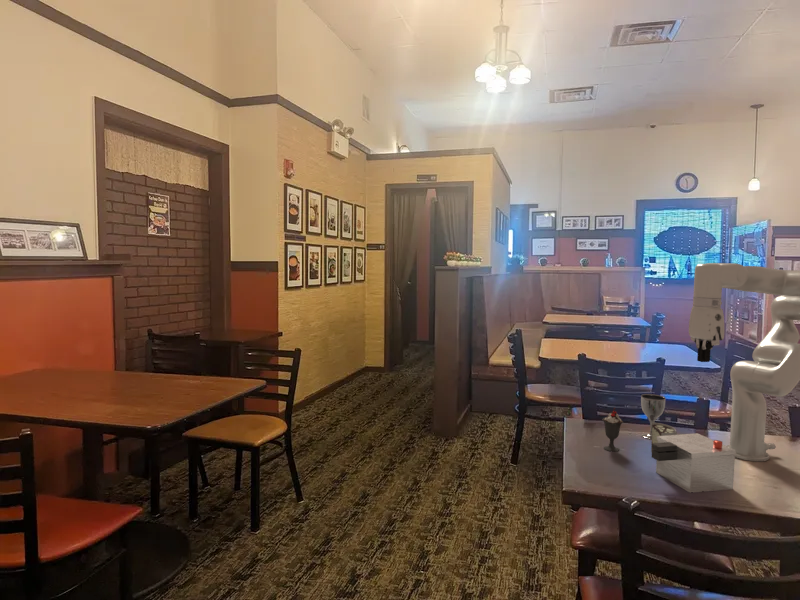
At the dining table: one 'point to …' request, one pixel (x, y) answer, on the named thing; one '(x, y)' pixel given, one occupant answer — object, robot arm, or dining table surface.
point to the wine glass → (652, 409)
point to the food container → (661, 431)
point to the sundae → (612, 429)
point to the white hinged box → (696, 470)
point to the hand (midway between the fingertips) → (703, 361)
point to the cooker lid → (692, 445)
